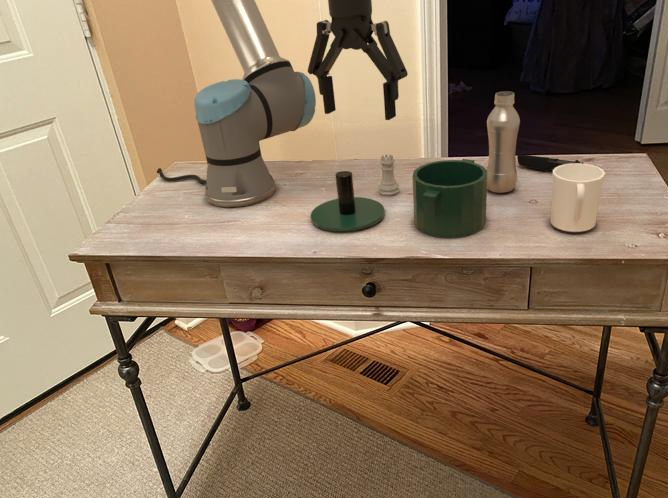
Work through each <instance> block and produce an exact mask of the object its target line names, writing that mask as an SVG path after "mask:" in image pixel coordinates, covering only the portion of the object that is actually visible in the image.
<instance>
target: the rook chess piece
mask: <svg viewBox="0 0 668 498" xmlns="http://www.w3.org/2000/svg"><path fill="white" fill-rule="evenodd" d="M395 161H396V159H394V156H393V155H392V154H385V155H384V154H383V155H381V156H380V160H379V163H380V165H381V167H380V169H381V180H380V183H379V184H378V193H379V194H380V195H382V196H383V197H384V196H385V197H390V196H395V195H397V194H398V192H399V191H400V188H399V183H398V182H397V179H396V178H395V173H394V169H395V166H394V163H395Z"/></svg>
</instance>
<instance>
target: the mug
mask: <svg viewBox="0 0 668 498" xmlns="http://www.w3.org/2000/svg"><path fill="white" fill-rule="evenodd" d="M605 175H606V172H605V171H604V169H603V168H601V167H599V166H596V165H594V164H593V165H592V164H589V163H584V164H580V163H572V164H564V165H560V166H558V167H556V168H554V169H553V171H552V191H551V192H552V193H551V204H550V207H551V208H550V220H549V222H550V223H549V224H550V226H551V228H553V229H554V230H555V231H557V232H559V233H562V234H567V235H582V234H587V233H590V232H592V231H593V230H594V229H595V227H596V223H597V217H598V212H599V211H598V210H599V205H600V199H601V193H602V188H603V184H604V180H605Z"/></svg>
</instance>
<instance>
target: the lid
mask: <svg viewBox="0 0 668 498" xmlns="http://www.w3.org/2000/svg"><path fill="white" fill-rule="evenodd" d="M335 182H336V192H337V198H334V199H331V200H327V201H325V202H323V203H321V204H319V205H317V206H316V207H314V209H312V211H311V213H310V220H311V222H312V224H313V225H314V226H316V227H317V228H319V229H323V230H327V231H332V232H351V231H358V230H361V229H365V228H368V227H371V226H373V225H375V224H377V223H378V222H380V221H381V220H382V219H384V216H385V213H386V212H385V207H384V205H383V203H381V202H380V201H377V200H375V199H372V198H369V197H362V196H361V197H360V196H355V189H354V180H353V172H352V171H350V170H341V171H338V172H336V173H335Z"/></svg>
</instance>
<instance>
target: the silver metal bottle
mask: <svg viewBox="0 0 668 498" xmlns="http://www.w3.org/2000/svg"><path fill="white" fill-rule="evenodd" d="M493 102H494V103H493V104H494V105H495V106H494V108H493V109H492V110H491V111H490V113H489V115H488V116H487V120H486V127H487V128H486V129H487V136H488V137H487V138H488V158H487V159H488V160H487V168H486V170H487V190H489V191H490V192H492V193H499V194H501V193H502V194H503V193H508V192H511V191H514V189H515V188H516V185H517V182H518V172H517V165H516V164H517V163H516V162H517V161H516V151H517V141H518V140H517V139H518V135H519V130H520V124H521V119H520V115H519V113H518V111H517V110H516V109H515V107H514V104H515V92H513V91H499V92H498V91H497V92H496V93H495V95H494V101H493Z"/></svg>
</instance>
